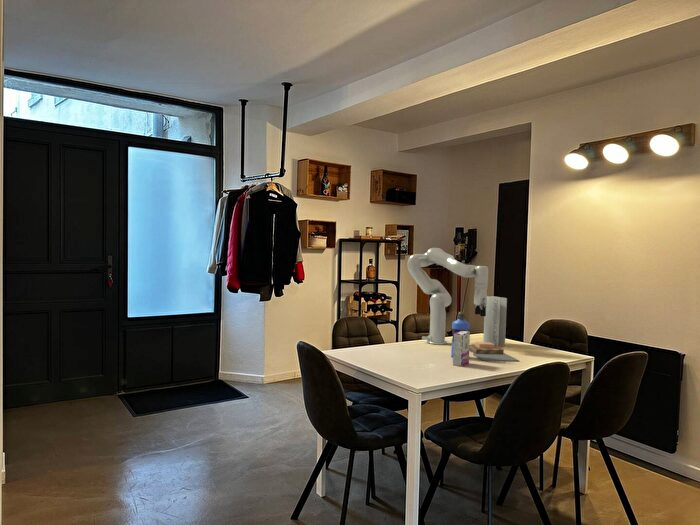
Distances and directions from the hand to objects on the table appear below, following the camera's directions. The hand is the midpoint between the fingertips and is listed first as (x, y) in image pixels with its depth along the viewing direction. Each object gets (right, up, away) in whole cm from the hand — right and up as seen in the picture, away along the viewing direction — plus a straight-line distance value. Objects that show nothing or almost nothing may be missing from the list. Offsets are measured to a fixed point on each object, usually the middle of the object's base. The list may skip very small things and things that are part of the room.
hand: (480, 315), depth 317 cm
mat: (+2, -21, -26) cm, 34 cm away
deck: (0, -21, -12) cm, 24 cm away
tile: (0, -18, -10) cm, 20 cm away
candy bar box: (-21, -21, -46) cm, 55 cm away
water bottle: (-18, -21, -28) cm, 39 cm away
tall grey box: (+13, -21, +19) cm, 31 cm away
